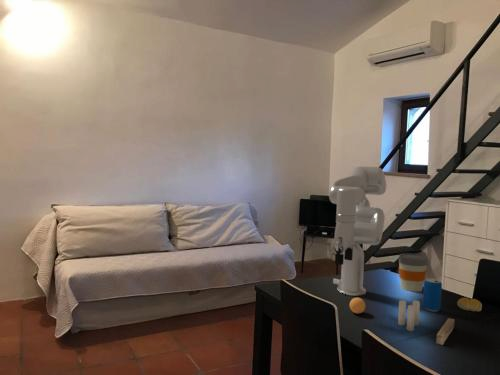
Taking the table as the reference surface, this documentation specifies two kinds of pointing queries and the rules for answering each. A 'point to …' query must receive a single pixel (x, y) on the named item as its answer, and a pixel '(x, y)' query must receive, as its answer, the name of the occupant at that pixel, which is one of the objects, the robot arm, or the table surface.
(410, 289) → the reusable coffee cup
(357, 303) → the ball
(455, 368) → the table surface
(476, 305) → the bread roll
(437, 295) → the beverage can
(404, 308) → the front pin
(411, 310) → the pin
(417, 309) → the pin
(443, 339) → the cream long bar
